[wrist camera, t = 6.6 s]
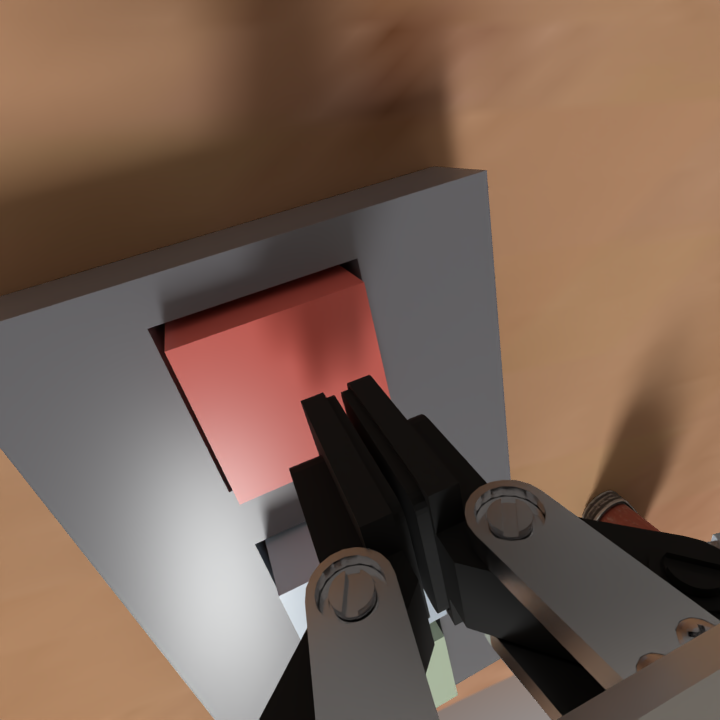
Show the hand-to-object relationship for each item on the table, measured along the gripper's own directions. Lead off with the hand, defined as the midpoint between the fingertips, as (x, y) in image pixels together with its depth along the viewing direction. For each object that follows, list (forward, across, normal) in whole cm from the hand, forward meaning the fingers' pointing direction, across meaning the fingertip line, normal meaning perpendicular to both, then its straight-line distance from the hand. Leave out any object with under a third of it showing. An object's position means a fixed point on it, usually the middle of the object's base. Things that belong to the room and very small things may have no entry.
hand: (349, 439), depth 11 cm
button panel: (+6, +1, +8) cm, 10 cm away
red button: (+6, +1, 0) cm, 6 cm away
